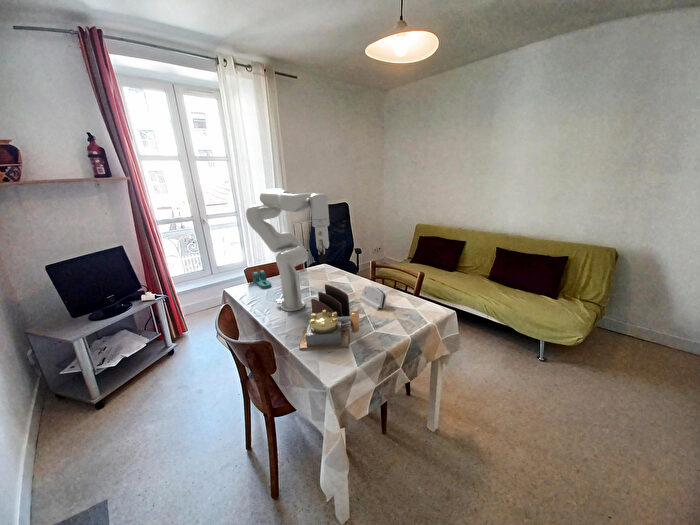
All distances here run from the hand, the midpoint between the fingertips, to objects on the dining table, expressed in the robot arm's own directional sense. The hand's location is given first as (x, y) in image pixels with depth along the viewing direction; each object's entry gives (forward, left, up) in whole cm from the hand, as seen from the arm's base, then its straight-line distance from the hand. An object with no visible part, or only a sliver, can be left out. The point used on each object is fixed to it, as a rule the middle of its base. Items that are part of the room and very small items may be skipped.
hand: (323, 259), depth 127 cm
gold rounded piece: (+4, -17, -27) cm, 32 cm away
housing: (0, -17, -30) cm, 35 cm away
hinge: (+24, +15, -31) cm, 41 cm away
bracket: (-47, +50, -31) cm, 75 cm away
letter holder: (+1, +3, -31) cm, 31 cm away
